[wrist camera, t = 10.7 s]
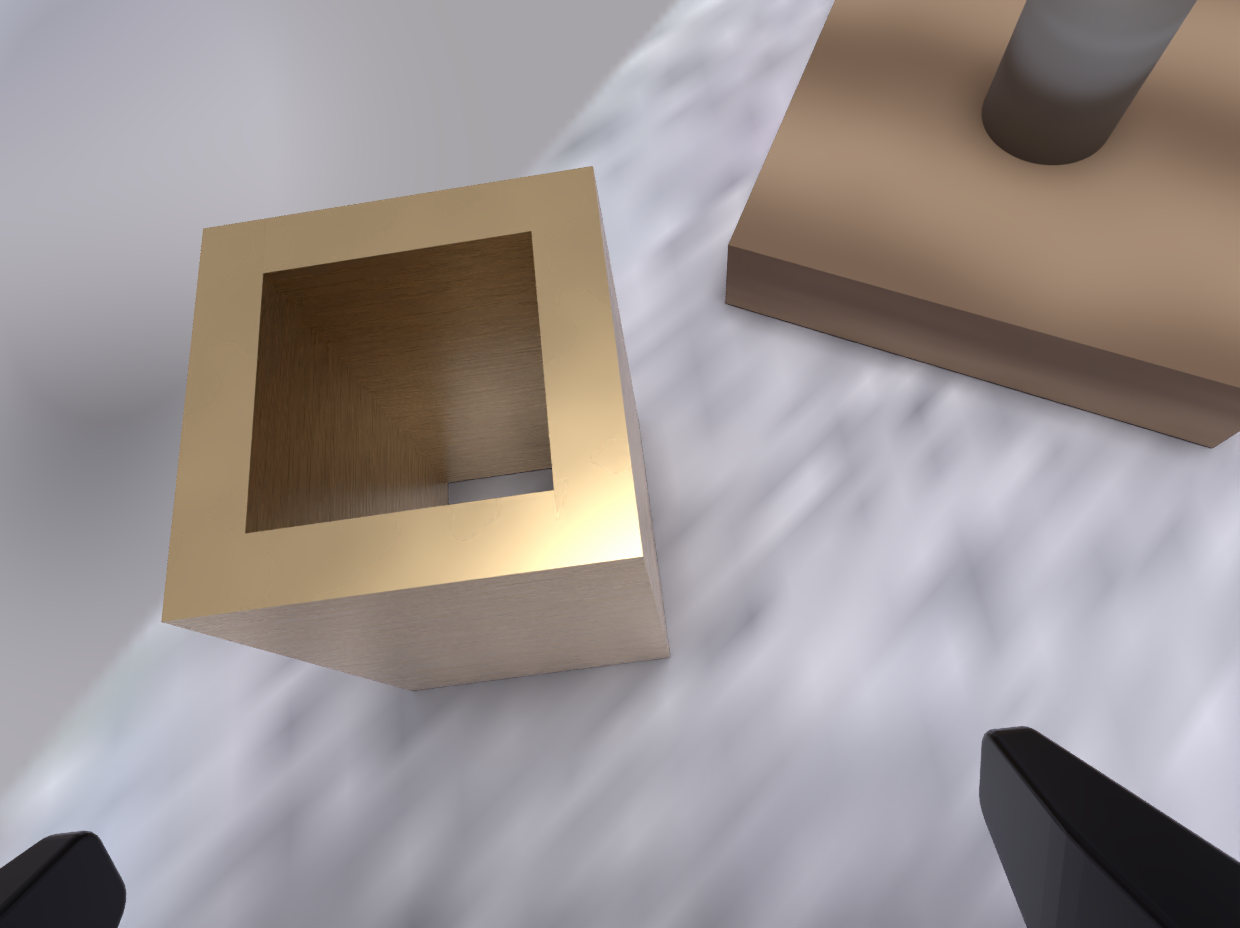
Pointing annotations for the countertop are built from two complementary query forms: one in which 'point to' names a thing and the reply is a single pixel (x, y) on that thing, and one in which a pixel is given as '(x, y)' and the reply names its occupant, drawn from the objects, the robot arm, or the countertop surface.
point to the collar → (416, 441)
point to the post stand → (1017, 200)
